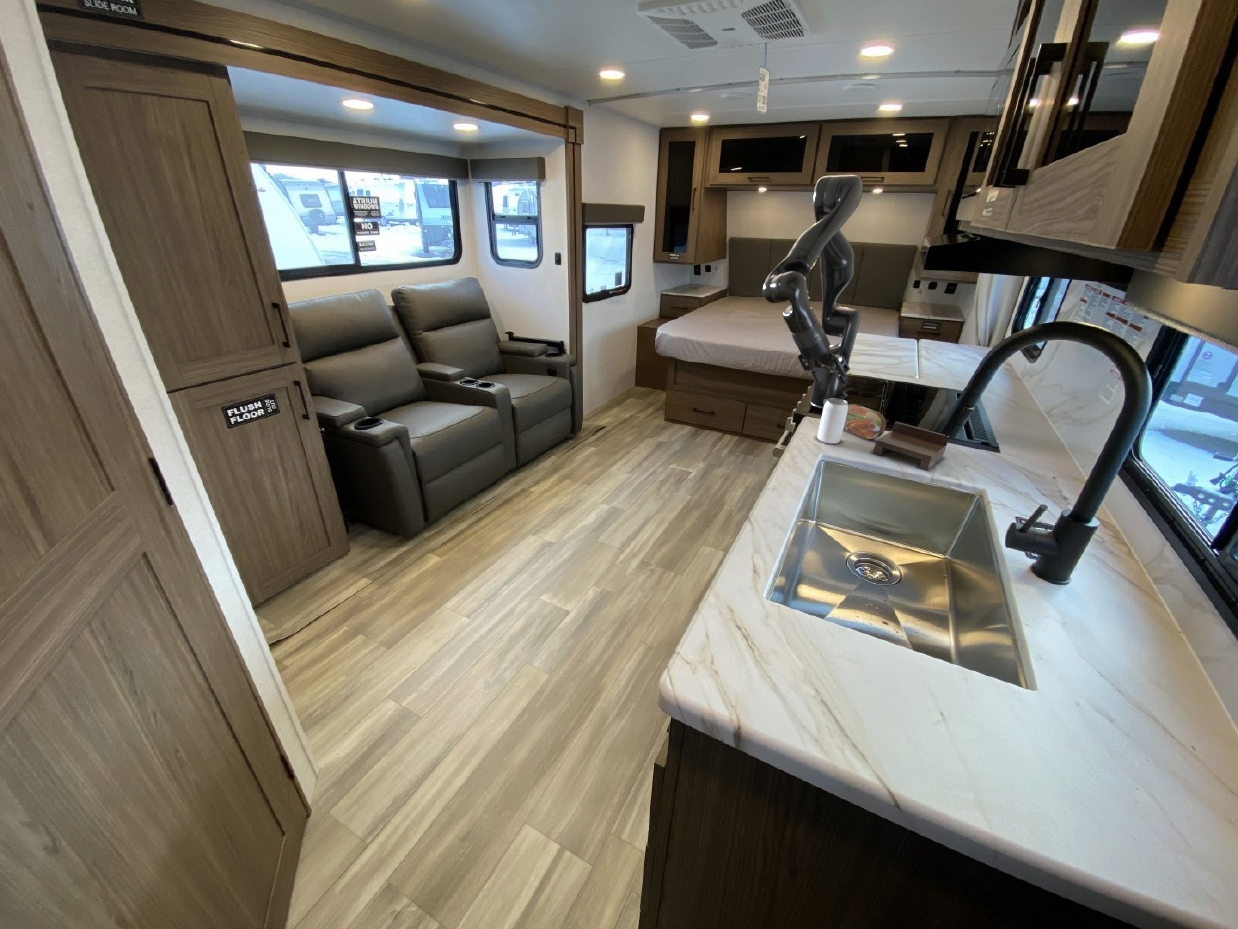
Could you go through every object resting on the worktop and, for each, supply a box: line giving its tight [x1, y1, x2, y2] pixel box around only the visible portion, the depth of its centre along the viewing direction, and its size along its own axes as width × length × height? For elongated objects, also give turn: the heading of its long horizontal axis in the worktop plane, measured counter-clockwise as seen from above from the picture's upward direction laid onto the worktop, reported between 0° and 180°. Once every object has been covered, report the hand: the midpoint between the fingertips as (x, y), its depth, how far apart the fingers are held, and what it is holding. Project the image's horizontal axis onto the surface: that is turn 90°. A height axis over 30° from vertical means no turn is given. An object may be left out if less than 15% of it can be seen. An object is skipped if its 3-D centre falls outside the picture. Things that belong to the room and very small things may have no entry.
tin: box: [843, 403, 887, 440], centre depth 148 cm, size 15×3×8 cm, turn 27°
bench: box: [872, 421, 951, 471], centre depth 135 cm, size 12×14×6 cm
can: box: [816, 398, 848, 445], centre depth 143 cm, size 6×6×12 cm
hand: (832, 381), depth 139 cm, fingers open, 8 cm apart
